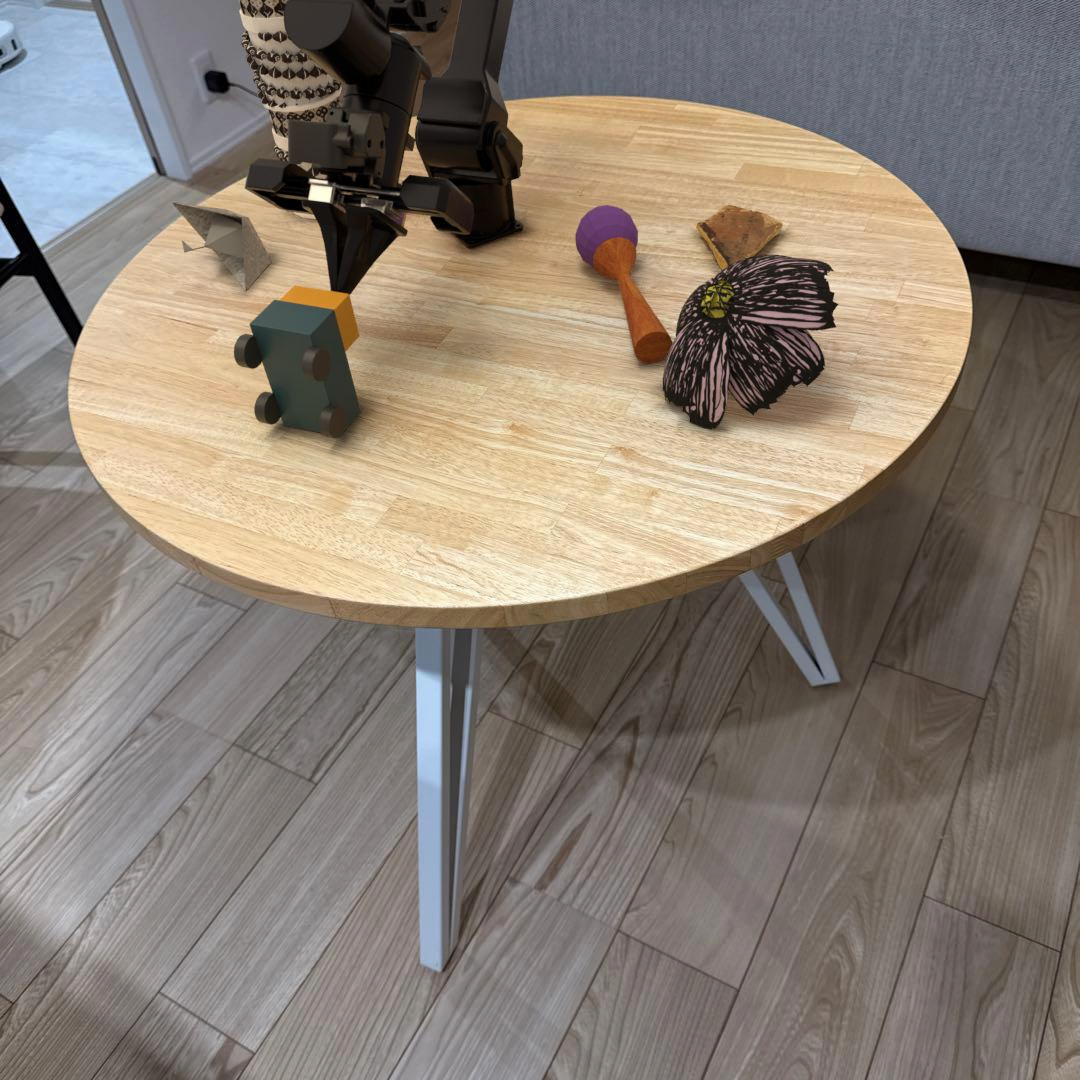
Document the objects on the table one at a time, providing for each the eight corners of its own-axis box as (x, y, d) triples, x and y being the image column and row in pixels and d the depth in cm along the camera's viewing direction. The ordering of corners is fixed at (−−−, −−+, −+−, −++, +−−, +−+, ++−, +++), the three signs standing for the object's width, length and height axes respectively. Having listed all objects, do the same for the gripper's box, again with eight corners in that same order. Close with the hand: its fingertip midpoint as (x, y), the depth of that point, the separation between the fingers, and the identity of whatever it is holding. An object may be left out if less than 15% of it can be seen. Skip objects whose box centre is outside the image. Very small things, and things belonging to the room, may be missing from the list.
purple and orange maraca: (613, 332, 83) (563, 205, 96) (626, 383, 87) (577, 256, 100) (682, 309, 82) (623, 185, 95) (691, 362, 87) (634, 236, 100)
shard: (732, 286, 93) (733, 268, 92) (661, 265, 97) (662, 249, 96) (785, 234, 99) (787, 217, 98) (717, 217, 103) (718, 200, 101)
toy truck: (313, 381, 88) (283, 280, 81) (384, 394, 86) (359, 293, 79) (262, 437, 83) (226, 335, 76) (336, 453, 81) (306, 350, 74)
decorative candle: (385, 190, 113) (335, -58, 96) (331, 227, 108) (268, -28, 90) (324, 176, 117) (266, -65, 99) (270, 211, 112) (198, -37, 94)
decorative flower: (633, 242, 81) (821, 190, 76) (673, 331, 91) (843, 290, 85) (634, 385, 74) (840, 340, 69) (677, 466, 84) (863, 431, 78)
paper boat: (302, 253, 102) (232, 273, 96) (282, 296, 107) (213, 318, 100) (228, 168, 103) (154, 182, 96) (211, 214, 108) (138, 231, 101)
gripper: (222, 57, 77) (183, 256, 78) (436, 72, 71) (392, 289, 72) (301, 117, 88) (266, 293, 89) (493, 135, 82) (454, 323, 83)
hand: (338, 298), depth 83 cm, fingers closed
